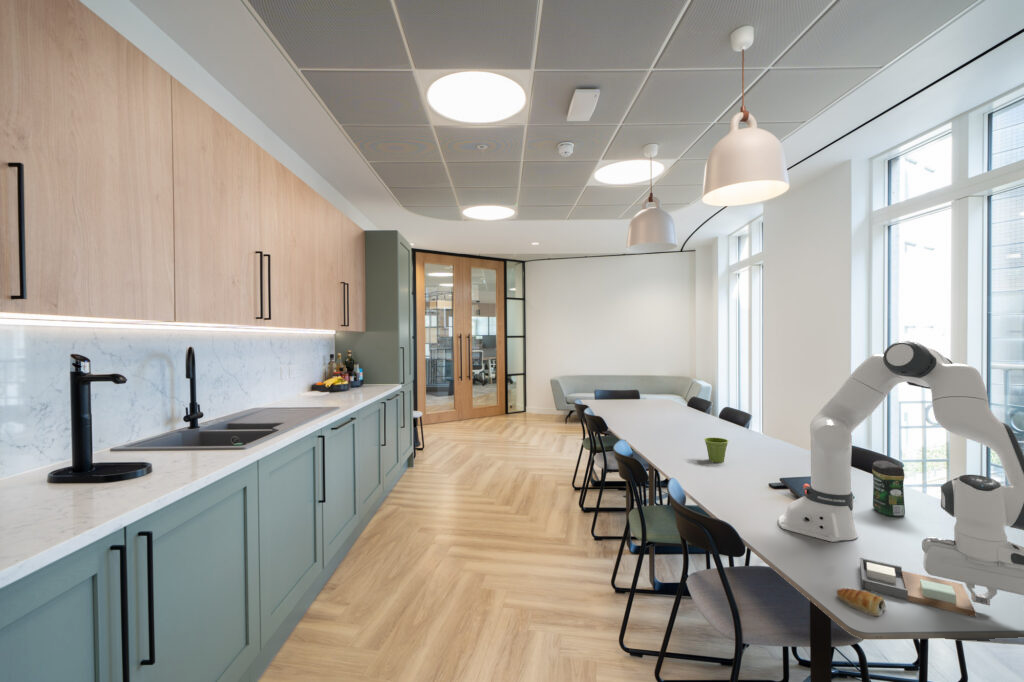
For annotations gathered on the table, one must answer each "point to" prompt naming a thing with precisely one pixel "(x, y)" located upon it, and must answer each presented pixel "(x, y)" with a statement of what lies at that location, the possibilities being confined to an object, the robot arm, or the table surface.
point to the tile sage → (937, 591)
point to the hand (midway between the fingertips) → (980, 602)
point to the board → (915, 595)
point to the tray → (880, 585)
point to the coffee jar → (888, 488)
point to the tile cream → (881, 572)
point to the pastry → (862, 601)
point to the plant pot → (716, 449)
